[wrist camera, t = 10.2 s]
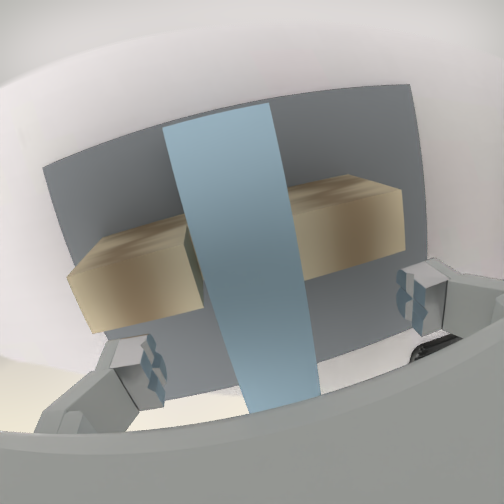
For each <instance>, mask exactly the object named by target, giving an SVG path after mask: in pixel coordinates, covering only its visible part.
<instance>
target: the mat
mask: <svg viewBox="0 0 504 504" xmlns="http://www.w3.org/2000/svg"><path fill="white" fill-rule="evenodd" d="M264 103H269V106H270V110H271V114H272V119H273V123H274V128H275V132H276V137H277V141H278V146H279V151H280V156H281V160H282V165H283V170H284V175H285V180H286V185H287V187H292V186H296V185H300V184H305V183H309V182H314V181H318V180H323V179H328V178H332V177H337V176H342V175H347V174H349V175H352V176H356V177H360V178H363V179H367V180H370V181H374V182H377V183H381V184H384V185H387V186H391V187H394V188H397V189H401V190H402V200H403V213H404V228H405V250H404V251H401V252H398V253H395V254H392V255H389V256H385V257H382V258H379V259H376V260H373V261H369V262H366V263H363V264H360V265H356V266H353V267H350V268H346V269H343V270H340V271H336V272H333V273H330V274H326V275H323V276H319V277H316V278H312V279H309V280H305V281H304V283H305V289H306V295H307V301H308V308H309V314H310V321H311V327H312V334H313V341H314V348H315V355H316V362H317V363H319V362H322V361H325V360H328V359H331V358H334V357H337V356H340V355H343V354H345V353H348V352H351V351H354V350H357V349H359V348H362V347H365V346H368V345H370V344H373V343H376V342H378V341H381V340H383V339H386V338H388V337H391V336H393V335H396V334H398V333H401V332H403V331H406V330H408V329H410V328H413V327H412V321H409V320H406V319H404V318H403V317H402V315H401V314H400V312H399V310H398V307H397V303H396V294H397V292H398V290H399V288H400V286H399V285H398V284H397V283H396V275H397V272H398V270H401V269H404V268H407V267H409V266H412V265H415V264H418V263H421V262H423V261H426V260H427V220H426V200H425V186H424V175H423V165H422V156H421V148H420V140H419V133H418V127H417V120H416V114H415V109H414V103H413V98H412V93H411V88H410V84H404V85H381V86H365V87H353V88H342V89H332V90H324V91H316V92H308V93H301V94H294V95H288V96H281V97H275V98H270V99H264V100H259V101H253V102H248V103H243V104H239V105H234V106H229V107H225V108H220V109H216V110H212V111H208V112H203V113H199V114H196V115H192V116H188V117H184V118H180V119H177V120H173V121H170V122H166V123H163V124H159V125H156V126H153V127H149V128H146V129H143V130H140V131H137V132H134V133H131V134H128V135H125V136H122V137H119V138H116V139H113V140H110V141H107V142H105V143H102V144H99V145H97V146H94V147H91V148H89V149H86V150H83V151H81V152H78V153H76V154H73V155H71V156H69V157H66V158H64V159H61V160H59V161H57V162H54V163H52V164H50V165H47V166H45V167H43V171H44V175H45V179H46V182H47V186H48V189H49V193H50V196H51V199H52V203H53V206H54V209H55V212H56V215H57V218H58V221H59V224H60V227H61V230H62V233H63V236H64V239H65V241H66V244H67V247H68V250H69V252H70V255H71V257H72V260H73V263H74V265H75V267H76V266H77V265H78V263H79V262H80V261H81V260H82V259H83V258H84V257H85V256H86V255H87V254H88V252H89V251H90V250H91V249H92V248H93V247H94V246H95V245H96V244H97V243H98V242H99V241H100V240H101V239H102V238H103V237H106V236H109V235H112V234H116V233H119V232H122V231H126V230H129V229H132V228H136V227H139V226H142V225H146V224H149V223H153V222H156V221H160V220H163V219H167V218H170V217H174V216H177V215H181V214H185V213H184V210H183V206H182V202H181V199H180V195H179V191H178V188H177V184H176V180H175V177H174V173H173V169H172V165H171V161H170V157H169V153H168V149H167V146H166V142H165V137H164V133H163V129H162V128H163V127H166V126H170V125H173V124H177V123H181V122H184V121H188V120H192V119H196V118H200V117H204V116H208V115H212V114H216V113H221V112H225V111H229V110H234V109H239V108H244V107H249V106H254V105H259V104H264ZM203 295H204V308H201V309H197V310H193V311H189V312H185V313H181V314H177V315H173V316H169V317H165V318H161V319H156V320H152V321H148V322H144V323H139V324H135V325H131V326H126V327H122V328H117V329H113V330H108V331H104V332H105V334H106V336H107V338H108V340H109V341H110V340H115V339H120V338H121V339H122V338H127V337H133V336H138V335H144V334H151V335H152V336H153V338H154V340H155V342H156V344H157V345H156V350H155V351H156V352H157V353H159V354H160V355H162V357H163V360H164V362H165V365H166V369H167V383H166V384H165V385H164V386H163V388H164V390H165V392H166V394H165V401H166V400H171V399H177V398H182V397H187V396H192V395H197V394H202V393H207V392H211V391H216V390H220V389H225V388H229V387H233V386H237V385H239V383H238V380H237V378H236V375H235V372H234V369H233V366H232V363H231V360H230V357H229V355H228V352H227V349H226V346H225V343H224V340H223V337H222V334H221V331H220V328H219V325H218V322H217V319H216V316H215V313H214V309H213V306H212V303H211V300H210V297H209V294H208V291H207V287H206V284H205V281H204V280H203Z"/></svg>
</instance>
